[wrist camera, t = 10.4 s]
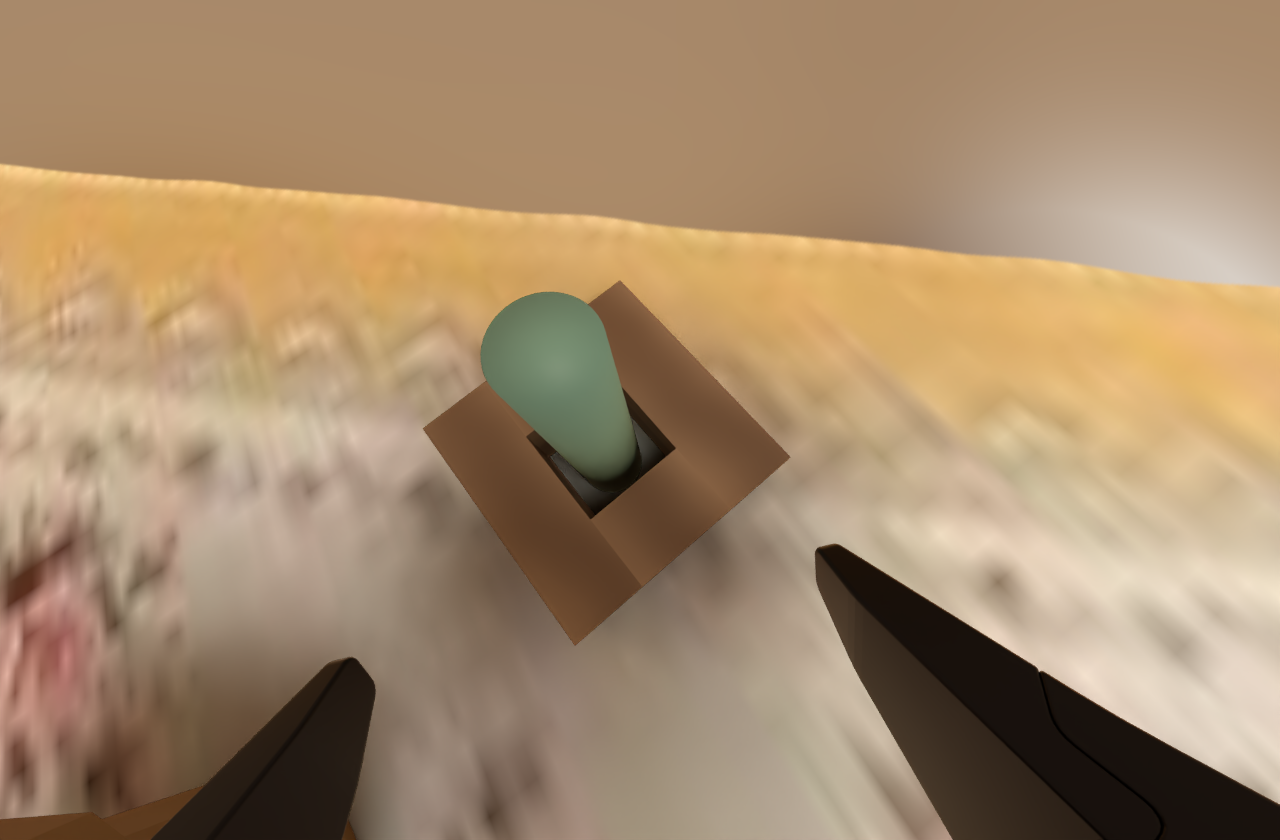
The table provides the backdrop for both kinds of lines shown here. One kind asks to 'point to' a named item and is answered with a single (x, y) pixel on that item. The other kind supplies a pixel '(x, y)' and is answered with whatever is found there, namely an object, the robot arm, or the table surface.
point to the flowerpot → (105, 823)
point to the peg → (564, 384)
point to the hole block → (643, 514)
